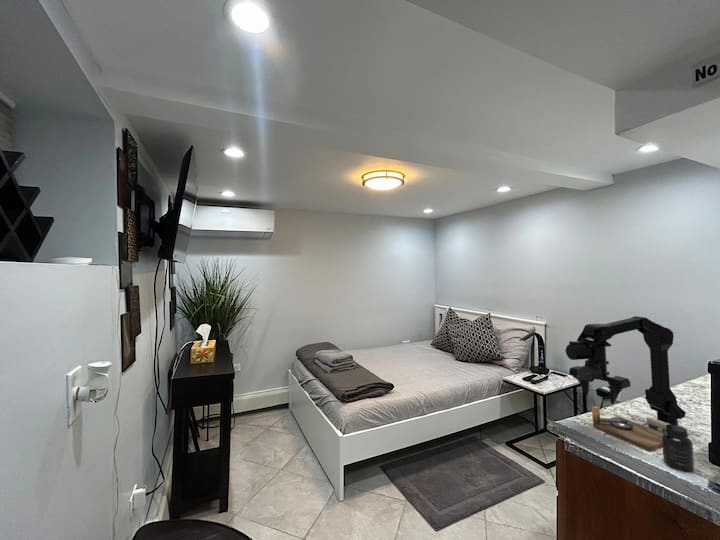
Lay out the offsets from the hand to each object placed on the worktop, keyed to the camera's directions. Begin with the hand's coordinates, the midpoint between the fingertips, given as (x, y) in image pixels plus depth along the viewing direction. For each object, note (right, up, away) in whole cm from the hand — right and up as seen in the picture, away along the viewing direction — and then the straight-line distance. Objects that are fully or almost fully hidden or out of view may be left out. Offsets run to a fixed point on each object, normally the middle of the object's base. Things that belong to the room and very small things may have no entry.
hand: (599, 399), depth 119 cm
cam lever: (+8, -11, +4) cm, 14 cm away
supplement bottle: (+10, -13, -20) cm, 26 cm away
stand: (+12, -13, -1) cm, 18 cm away
